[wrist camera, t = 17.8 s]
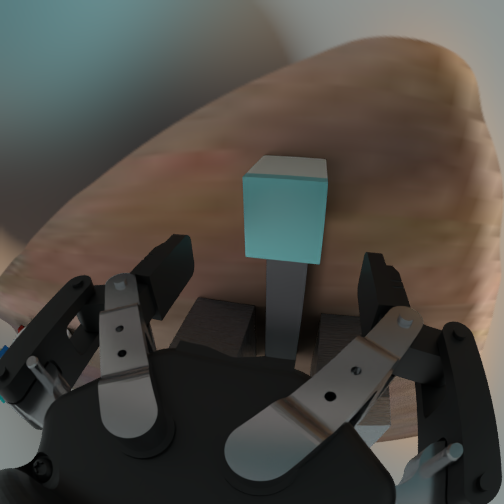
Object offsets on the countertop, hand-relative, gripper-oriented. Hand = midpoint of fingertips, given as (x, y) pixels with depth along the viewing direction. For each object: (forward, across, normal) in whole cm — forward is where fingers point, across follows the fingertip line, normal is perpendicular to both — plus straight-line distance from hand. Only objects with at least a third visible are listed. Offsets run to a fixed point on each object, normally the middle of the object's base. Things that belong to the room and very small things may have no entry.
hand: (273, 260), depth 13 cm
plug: (+10, 0, +8) cm, 12 cm away
